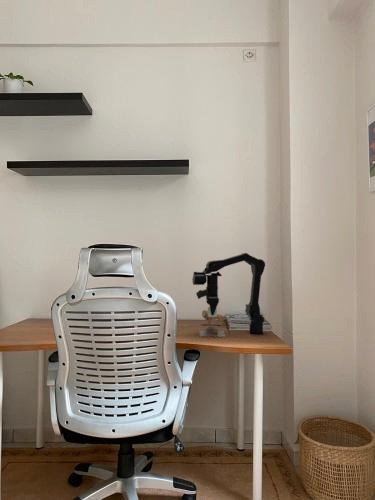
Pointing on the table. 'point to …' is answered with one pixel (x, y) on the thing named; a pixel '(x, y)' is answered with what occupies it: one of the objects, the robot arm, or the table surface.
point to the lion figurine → (205, 315)
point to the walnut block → (212, 330)
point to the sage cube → (210, 313)
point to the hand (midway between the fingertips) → (212, 314)
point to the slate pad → (220, 333)
